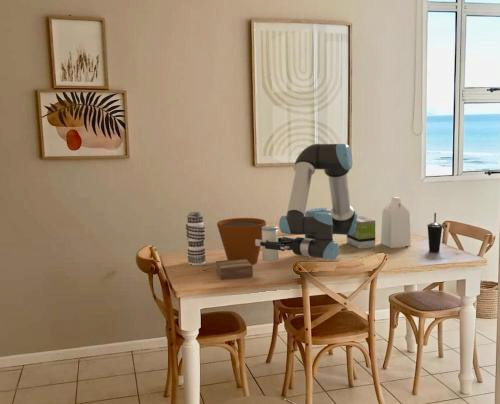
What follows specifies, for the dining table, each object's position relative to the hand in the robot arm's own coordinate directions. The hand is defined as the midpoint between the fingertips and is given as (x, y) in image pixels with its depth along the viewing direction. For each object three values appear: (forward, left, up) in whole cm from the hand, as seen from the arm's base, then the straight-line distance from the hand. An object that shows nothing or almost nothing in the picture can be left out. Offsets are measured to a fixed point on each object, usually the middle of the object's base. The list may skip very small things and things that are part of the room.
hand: (261, 240), depth 253 cm
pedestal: (0, -13, -15) cm, 19 cm away
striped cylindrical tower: (-26, -27, -15) cm, 40 cm away
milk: (-33, +82, -15) cm, 90 cm away
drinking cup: (-12, +93, -15) cm, 95 cm away
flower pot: (-21, -5, -15) cm, 27 cm away
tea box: (-38, +64, -15) cm, 76 cm away
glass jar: (+4, +3, -8) cm, 9 cm away
